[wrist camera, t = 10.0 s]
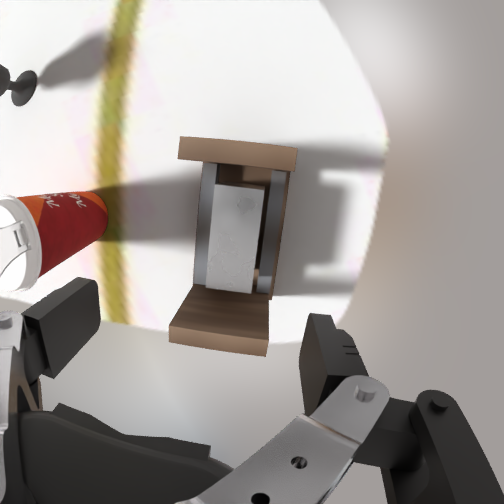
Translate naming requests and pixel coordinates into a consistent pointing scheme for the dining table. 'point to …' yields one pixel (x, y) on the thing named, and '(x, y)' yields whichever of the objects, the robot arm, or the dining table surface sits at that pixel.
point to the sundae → (18, 85)
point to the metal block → (234, 236)
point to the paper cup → (45, 233)
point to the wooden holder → (257, 303)
